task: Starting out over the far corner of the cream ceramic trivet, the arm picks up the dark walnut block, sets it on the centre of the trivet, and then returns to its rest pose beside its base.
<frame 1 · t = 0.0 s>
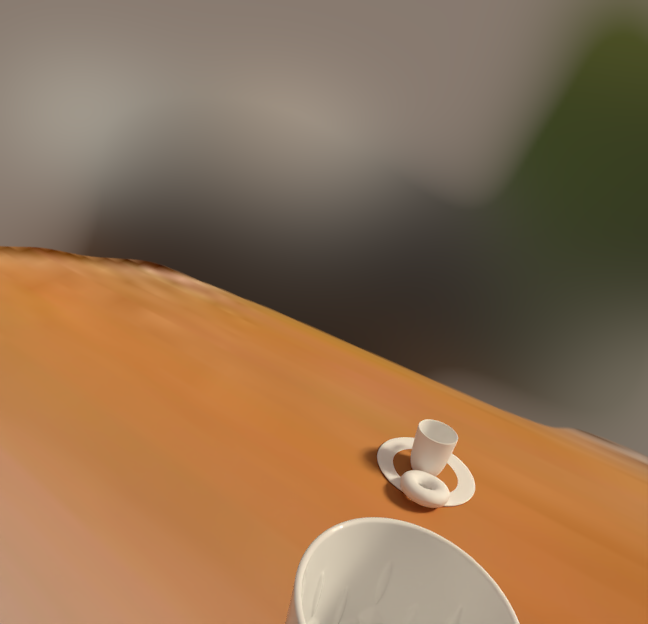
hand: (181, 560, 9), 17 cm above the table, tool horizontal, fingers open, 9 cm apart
teacup and saucer: (387, 474, 41), on the table
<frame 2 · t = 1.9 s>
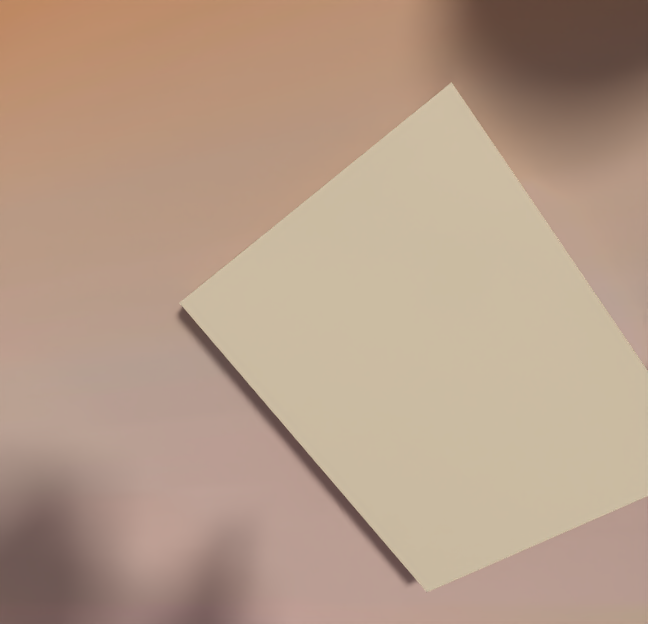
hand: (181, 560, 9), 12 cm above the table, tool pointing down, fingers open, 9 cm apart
trivet: (435, 368, 20), on the table
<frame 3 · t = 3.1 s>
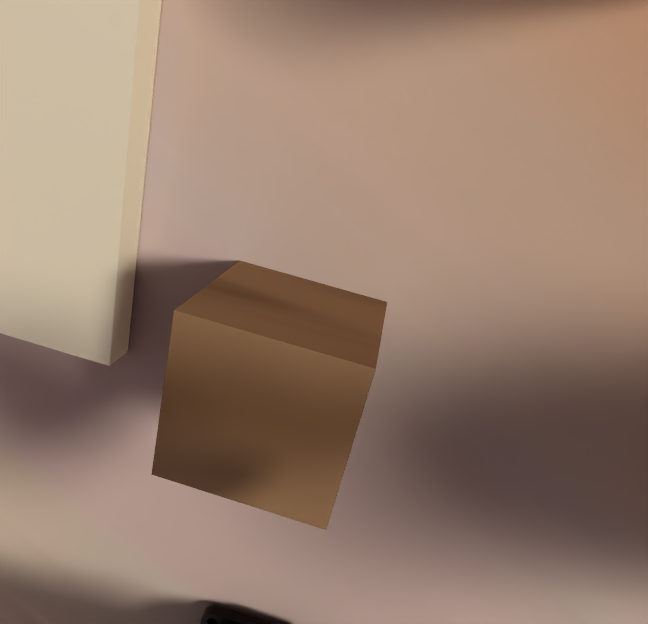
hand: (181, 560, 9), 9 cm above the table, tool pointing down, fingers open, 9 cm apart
walnut block: (296, 347, 18), on the table
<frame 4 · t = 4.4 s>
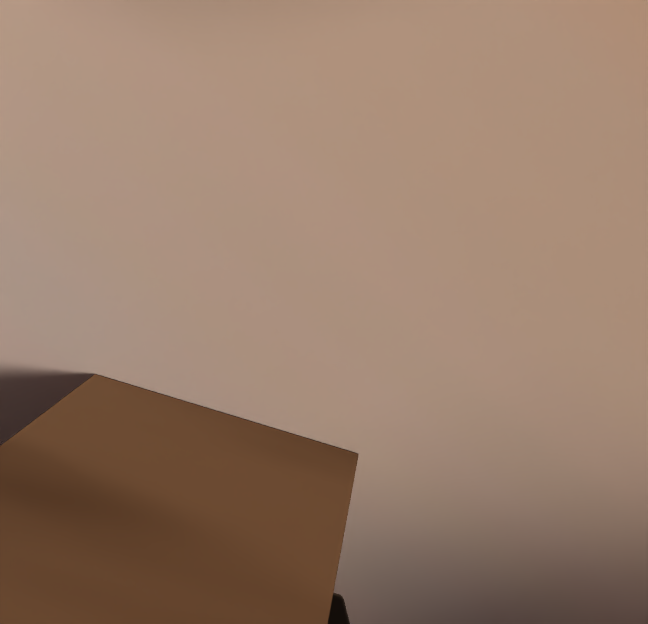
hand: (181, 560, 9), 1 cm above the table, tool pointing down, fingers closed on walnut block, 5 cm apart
walnut block: (204, 519, 10), on the table, touching gripper
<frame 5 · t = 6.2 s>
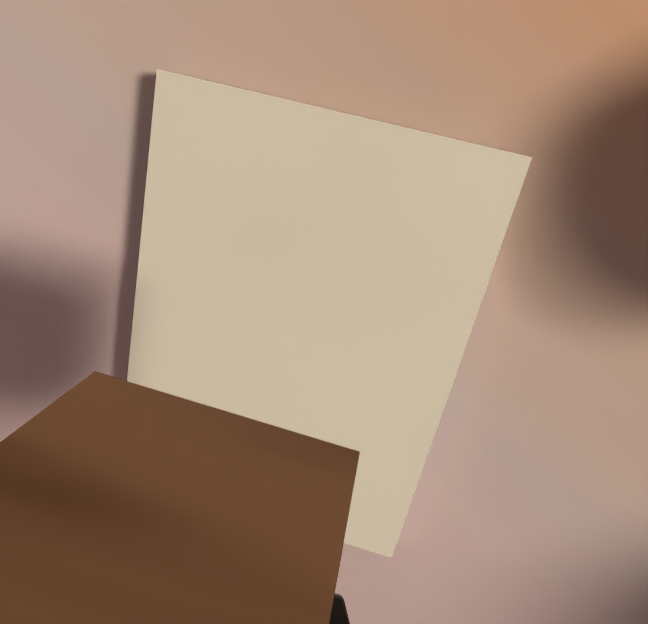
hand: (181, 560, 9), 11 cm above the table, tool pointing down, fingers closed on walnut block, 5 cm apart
walnut block: (204, 517, 10), point 10 cm above the table, touching gripper
trivet: (295, 331, 20), on the table
when the fingers open (4 cm above the table, at t = 8.0 s): walnut block drops 2 cm, resting on trivet.
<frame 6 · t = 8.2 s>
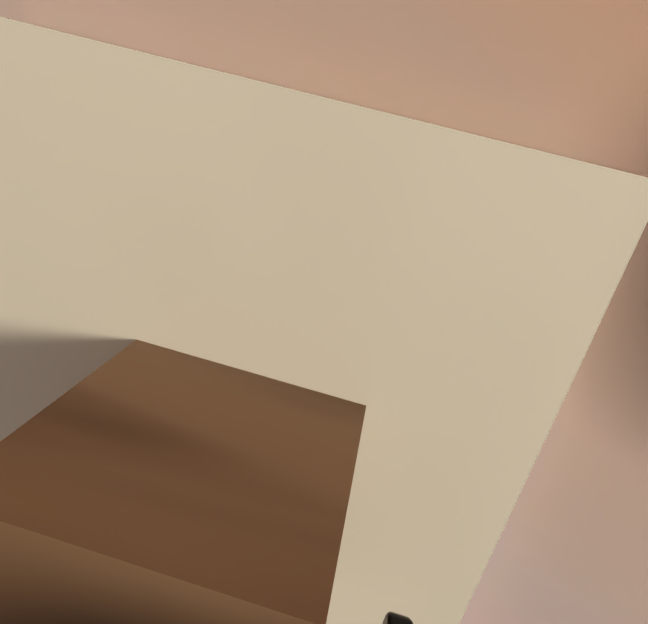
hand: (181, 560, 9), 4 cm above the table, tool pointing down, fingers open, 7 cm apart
walnut block: (230, 468, 12), point 1 cm above the table, touching trivet
trivet: (246, 439, 13), on the table
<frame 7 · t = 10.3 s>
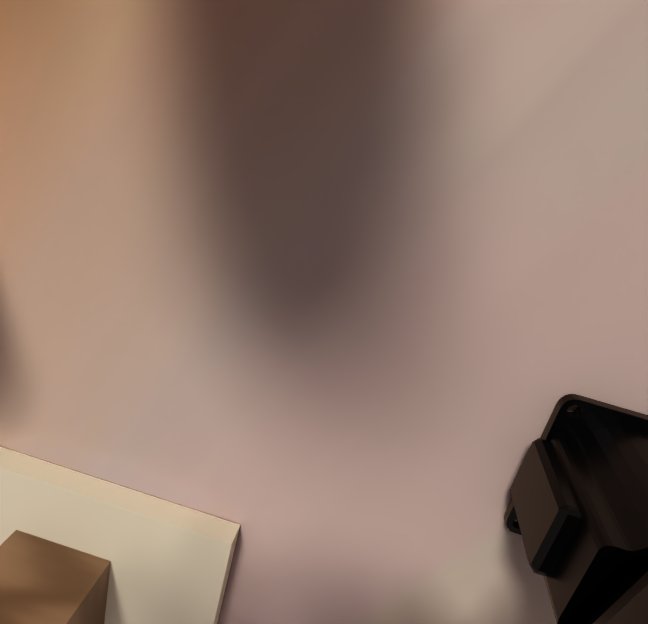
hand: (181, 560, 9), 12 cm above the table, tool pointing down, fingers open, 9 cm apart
walnut block: (61, 581, 26), point 1 cm above the table, touching trivet
trivet: (76, 563, 27), on the table
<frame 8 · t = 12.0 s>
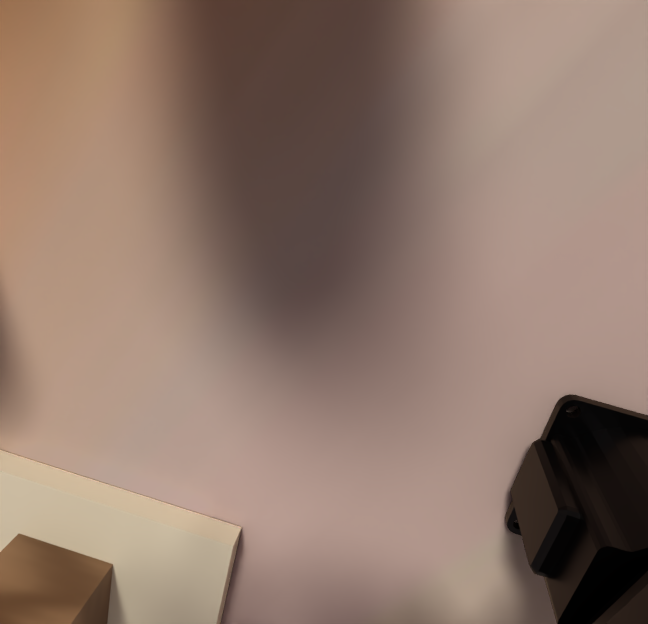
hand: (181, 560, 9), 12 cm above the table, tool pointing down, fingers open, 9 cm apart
walnut block: (63, 585, 26), point 1 cm above the table, touching trivet
trivet: (79, 567, 27), on the table
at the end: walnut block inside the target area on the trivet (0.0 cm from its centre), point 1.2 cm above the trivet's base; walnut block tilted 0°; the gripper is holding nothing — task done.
